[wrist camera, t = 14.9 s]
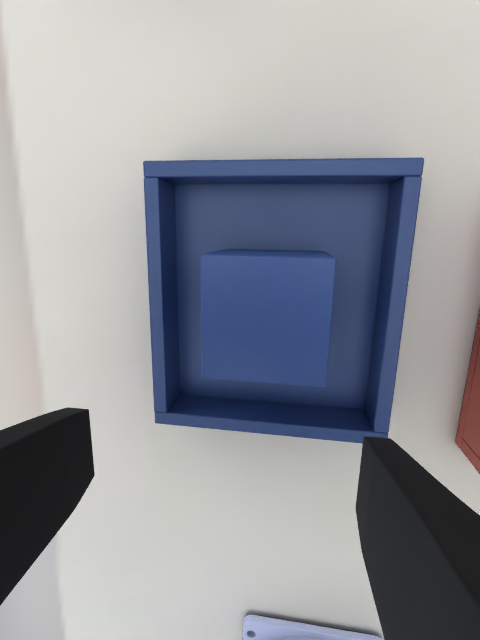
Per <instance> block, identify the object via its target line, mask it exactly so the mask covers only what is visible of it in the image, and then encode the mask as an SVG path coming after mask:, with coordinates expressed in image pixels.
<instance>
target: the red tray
mask: <svg viewBox="0 0 480 640" xmlns="http://www.w3.org/2000/svg"><path fill="white" fill-rule="evenodd" d="M456 444H457V445H458V447H459V448H460V449H461V450H462V452H463V453H464V454H465V456H466V457H467V458H468V460H469V461H470V462H471V463H472V465H473V466H474V467H475V469H476V470H477V471H478V473H479V474H480V311H479V317H478V322H477V327H476V333H475V338H474V344H473V349H472V355H471V360H470V366H469V371H468V377H467V382H466V388H465V393H464V398H463V404H462V409H461V415H460V420H459V426H458V431H457V437H456Z"/></svg>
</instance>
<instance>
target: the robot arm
mask: <svg viewBox="0 0 480 640" xmlns="http://www.w3.org/2000/svg"><path fill="white" fill-rule="evenodd" d="M93 477H94V464H93V453H92V442H91V430H90V419H89V410H88V409H78V408H64V409H60V410H57V411H53V412H50V413H47V414H44V415H41V416H38V417H35V418H33V419H30V420H27V421H25V422H22V423H19V424H16V425H14V426H11V427H8V428H6V429H3V430H0V605H1V604H2V603H3V601H4V600H5V599H6V597H7V596H8V595H9V593H10V592H11V591H12V590H13V588H14V587H15V586H16V584H17V583H18V582H19V581H20V579H21V578H22V577H23V576H24V574H25V573H26V572H27V570H28V569H29V568H30V566H31V565H32V564H33V563H34V561H35V560H36V559H37V558H38V556H39V555H40V554H41V553H42V551H43V550H44V549H45V547H46V546H47V545H48V543H49V542H50V541H51V539H52V538H53V537H54V536H55V535H56V533H57V532H58V531H59V529H60V528H61V527H62V525H63V524H64V523H65V521H66V520H67V519H68V518H69V516H70V515H71V513H72V512H73V511H74V509H75V508H76V506H77V504H78V503H79V501H80V500H81V498H82V496H83V495H84V493H85V491H86V489H87V488H88V486H89V484H90V482H91V481H92V479H93ZM356 514H357V521H358V529H359V535H360V542H361V549H362V554H363V558H364V562H365V566H366V570H367V573H368V577H369V581H370V585H371V589H372V593H373V597H374V600H375V604H376V608H377V612H378V616H379V619H380V623H381V627H382V631H383V635H384V639H385V640H480V516H479V515H478V514H477V513H476V512H474V511H473V510H472V509H471V508H470V507H468V506H467V505H466V504H465V503H463V502H462V501H461V500H460V499H459V498H457V497H456V496H455V495H454V494H453V493H452V492H450V491H449V490H448V489H447V488H446V487H445V486H443V485H442V484H441V483H440V482H439V481H438V480H437V479H435V478H434V477H433V476H432V475H431V474H430V473H429V472H428V471H426V470H425V469H424V468H423V467H422V466H421V465H420V464H419V463H418V462H416V461H415V460H414V459H413V458H412V457H411V456H410V455H409V454H408V453H406V452H405V451H404V450H403V449H402V448H401V447H400V446H399V445H397V444H396V443H395V442H394V441H393V440H391V439H389V438H379V437H368V436H364V439H363V448H362V457H361V465H360V474H359V483H358V492H357V501H356ZM243 640H382V639H381V638H380V637H378V636H375V635H369V634H363V633H357V632H351V631H345V630H339V629H334V628H328V627H322V626H316V625H310V624H304V623H298V622H292V621H287V620H281V619H275V618H269V617H263V616H257V615H247V616H246V617H245V618H244V622H243Z"/></svg>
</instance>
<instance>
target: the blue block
mask: <svg viewBox="0 0 480 640" xmlns="http://www.w3.org/2000/svg"><path fill="white" fill-rule="evenodd" d="M200 262H201V362H202V378H211V379H224V380H237V381H250V382H263V383H276V384H289V385H302V386H315V387H326V385H327V373H328V361H329V349H330V336H331V324H332V312H333V299H334V287H335V275H336V262H337V259H336V258H335V257H333V256H332V255H330V254H328V253H326V252H325V251H296V250H254V249H223V250H219V251H214V252H210V253H205V254H201V256H200Z"/></svg>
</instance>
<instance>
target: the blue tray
mask: <svg viewBox="0 0 480 640" xmlns="http://www.w3.org/2000/svg"><path fill="white" fill-rule="evenodd" d="M423 164H424V158H349V159H267V160H185V161H144V162H143V165H144V177H146V178H144V193H145V215H146V237H147V259H148V282H149V304H150V326H151V348H152V370H153V392H154V411H155V423H159V424H170V425H180V426H190V427H201V428H211V429H221V430H232V431H242V432H252V433H262V434H273V435H283V436H293V437H304V438H314V439H324V440H334V441H345V442H355V443H363V439H364V436H368V437H379V438H388V432H389V424H390V417H391V409H392V402H393V394H394V386H395V379H396V371H397V363H398V356H399V348H400V340H401V333H402V325H403V318H404V310H405V302H406V295H407V287H408V279H409V272H410V264H411V257H412V249H413V241H414V234H415V226H416V218H417V211H418V203H419V196H420V188H421V180H422V177H421V175H422V172H423ZM223 249H254V250H296V251H325V252H326V253H328V254H330V255H332V256H333V257H335V258H336V259H337V262H336V275H335V287H334V299H333V312H332V324H331V336H330V349H329V361H328V373H327V385H326V387H315V386H302V385H289V384H276V383H263V382H250V381H237V380H224V379H211V378H202V362H201V262H200V256H201V254H205V253H210V252H214V251H219V250H223Z"/></svg>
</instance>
